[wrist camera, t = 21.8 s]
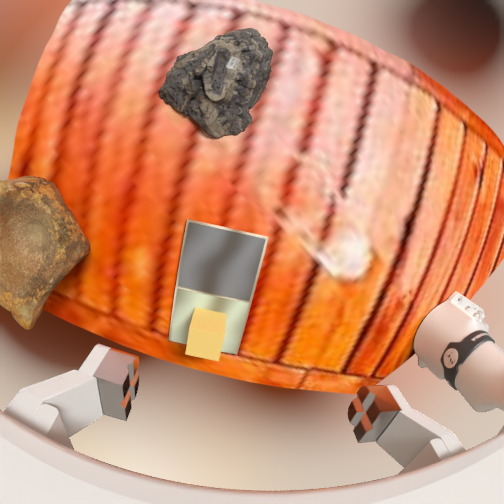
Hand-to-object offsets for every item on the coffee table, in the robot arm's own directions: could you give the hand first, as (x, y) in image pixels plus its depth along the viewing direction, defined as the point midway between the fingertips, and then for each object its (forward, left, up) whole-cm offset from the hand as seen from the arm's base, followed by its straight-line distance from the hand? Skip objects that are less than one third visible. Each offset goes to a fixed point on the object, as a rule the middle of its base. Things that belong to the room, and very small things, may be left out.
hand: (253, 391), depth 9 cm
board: (+2, +12, -33) cm, 35 cm away
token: (+2, +17, -32) cm, 36 cm away
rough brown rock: (+30, +8, -33) cm, 45 cm away
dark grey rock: (+9, -21, -34) cm, 40 cm away
